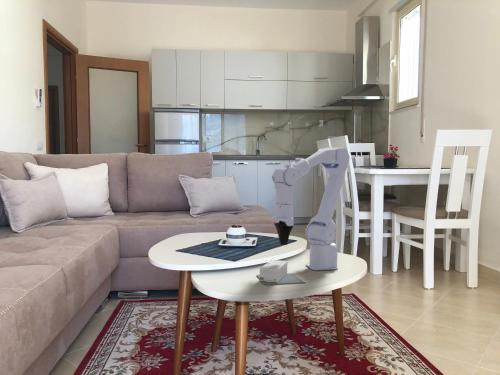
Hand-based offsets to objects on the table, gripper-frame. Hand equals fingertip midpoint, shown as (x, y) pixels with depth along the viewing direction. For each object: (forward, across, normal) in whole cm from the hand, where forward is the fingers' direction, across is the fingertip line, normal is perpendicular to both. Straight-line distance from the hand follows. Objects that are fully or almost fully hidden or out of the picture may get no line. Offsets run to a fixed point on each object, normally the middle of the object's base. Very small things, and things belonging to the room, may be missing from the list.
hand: (283, 244), depth 139 cm
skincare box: (+8, -2, -1) cm, 8 cm away
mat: (+10, +5, -2) cm, 12 cm away
